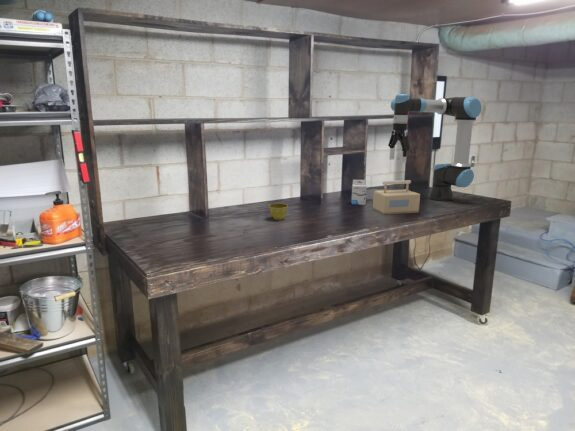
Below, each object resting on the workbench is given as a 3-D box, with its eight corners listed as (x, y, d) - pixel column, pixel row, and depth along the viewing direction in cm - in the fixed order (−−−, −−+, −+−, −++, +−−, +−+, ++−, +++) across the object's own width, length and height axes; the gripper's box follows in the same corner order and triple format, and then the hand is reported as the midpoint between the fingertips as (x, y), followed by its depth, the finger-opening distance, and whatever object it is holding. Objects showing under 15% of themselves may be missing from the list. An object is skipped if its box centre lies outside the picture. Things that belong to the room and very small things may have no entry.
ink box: (351, 204, 271) (352, 180, 267) (351, 202, 275) (352, 179, 272) (365, 205, 270) (367, 181, 266) (365, 203, 275) (366, 179, 271)
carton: (406, 207, 266) (407, 189, 263) (418, 212, 253) (420, 194, 250) (372, 208, 260) (373, 191, 258) (383, 214, 247) (385, 195, 244)
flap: (406, 190, 263) (407, 178, 262) (412, 192, 256) (414, 180, 255) (374, 191, 258) (375, 179, 256) (380, 194, 251) (381, 181, 249)
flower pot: (268, 220, 231) (268, 207, 229) (269, 216, 240) (269, 203, 239) (287, 221, 231) (287, 207, 229) (287, 216, 240) (287, 203, 239)
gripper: (384, 121, 256) (381, 158, 261) (405, 123, 233) (402, 164, 238) (395, 121, 258) (393, 158, 263) (418, 123, 235) (414, 163, 240)
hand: (397, 161), depth 251 cm, fingers open, 13 cm apart
